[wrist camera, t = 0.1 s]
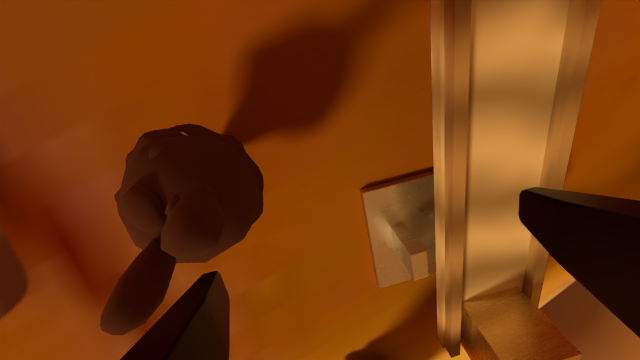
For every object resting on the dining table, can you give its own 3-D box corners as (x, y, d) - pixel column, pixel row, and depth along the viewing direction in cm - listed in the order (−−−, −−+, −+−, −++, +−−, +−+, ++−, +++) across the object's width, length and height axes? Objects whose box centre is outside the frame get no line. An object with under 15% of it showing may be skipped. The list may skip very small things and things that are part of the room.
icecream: (200, 80, 22) (82, 125, 8) (286, 146, 24) (309, 268, 10) (144, 157, 23) (-42, 311, 9) (231, 212, 25) (187, 398, 12)
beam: (518, 313, 30) (534, 332, 28) (437, 337, 29) (448, 358, 28) (577, -44, 16) (616, -50, 15) (429, -10, 16) (451, -13, 14)
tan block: (511, 324, 29) (568, 394, 23) (459, 340, 28) (504, 414, 23) (517, 286, 26) (582, 353, 21) (460, 302, 26) (511, 375, 21)
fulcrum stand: (532, 238, 31) (578, 270, 27) (376, 282, 30) (396, 323, 26) (538, 142, 27) (592, 160, 23) (359, 189, 26) (379, 218, 22)
